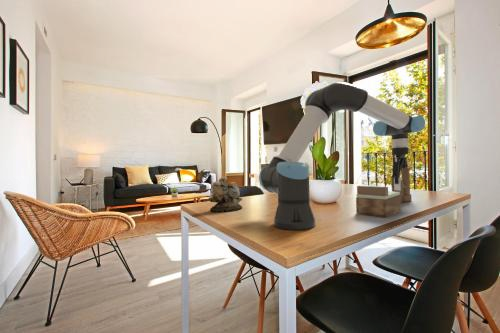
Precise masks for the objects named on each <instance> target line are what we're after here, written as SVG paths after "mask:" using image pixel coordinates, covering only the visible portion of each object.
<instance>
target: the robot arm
mask: <svg viewBox="0 0 500 333" xmlns="http://www.w3.org/2000/svg"><path fill="white" fill-rule="evenodd" d="M304 104H305V107H304V110H303V111H304V114H303V116H302V118H301V120H300V121H299V123H298V125H297V126H296V127H295V129H294V130H293V132H292V134H291V135H290V137H289V138H288V140H287V142H286V143H285V145H284V146H283V148H282V150H281V151H280V153H279V155H276V156H275V155H274V156H273V157H272V159H271V160H270V161H269V164H267V165H265V166H264V167H262V168H261V170H260V171H259V173H258V174H259V175H258V181H259V184H260V186H261V188H262V189H264V190H265V191H266V192H268V193H272V194H277V207H276V212H275V215H274V218H273V226H274V227H276V228H278V229H283V230H288V231H289V230H291V231H301V230H308V229H312V228H314V227H315V226H316V218H315V216H314V212H313V209H312V206H311V204H310V203H311V201H310V199H311V198H310V195H311V194H310V170H309V165H308V164H306V163H305V162H300V160H301V158H302V157H303V155H304V153H305V152H306V150H307V149H308V147H309V146H310V143H311V142H312V140H313V139H314V136H316V134H317V132H318V130H319V128H320V127H321V125H322V124H324V123H327V122H328V121H329V119H330V117H331V116H332V114H333V113H335V112H339V111H345V110H346V111H351V112H352V113H353V112H354V113H356V112H359V113H361V114H363V115H366V116H368V117H371V118H372V119H375V120H376V122H375V123H373V126H372V131H373V134H374V135H375V136H378V137H386V136H387V137H391V155H392V156H395V157H393V158H392V160H393V161H392V162H393V163H392V174H391V176H392V178H394V190H399V191H400V190H401V186H400V180H401V181H402V175H401V174H402V168H406V167H409V166H408V157H407V156H405V155H409V154H410V153H409V152H410V151H409V143H410V140H409V134H411V133H412V134H414V133H419V132H422V131H423V130H424V129H425V127H426V119H425V117H424V116H423V115H421V114H414V115H410V114H409V113H406V112H404V111H402V110H400V109H398V108H396V107H394V106H392V105H390V104H388V103H387V102H384V101H382V100H380V99H378V98H377V97H374V96H372V95H370V94H369V92H368V91H367V90H366V89H364V88H362V87H359V86H357V85H355V84H352V83H348V82H341V81H340V82H334V83H331V84H329V85H326V86H324V87H322V88H320V89H317V90H314V91H313V92H311V93H310V94H309V95H308V96H307V98H306V100H305V103H304ZM400 175H401V176H400Z"/></svg>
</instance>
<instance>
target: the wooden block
mask: <svg viewBox="0 0 500 333" xmlns="http://www.w3.org/2000/svg"><path fill="white" fill-rule="evenodd" d="M401 176H402V181H401V179H400V186H401V190H400V191H399V190H394V178H392V175H391V177H390V178H391V191H393V192H400V203H401V204H402V203H407V202H412V193H411V185H410V182H411V180H410V176H411V175H410V167H409V166H408V167H406V168H402V173H401Z"/></svg>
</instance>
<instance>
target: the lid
mask: <svg viewBox="0 0 500 333" xmlns="http://www.w3.org/2000/svg"><path fill="white" fill-rule="evenodd" d="M397 195H400V192H393V191H392V190H390V191H389V187H388V186H379V185H378V186H376V185H375V186H374V185H373V186H372V185H357V186H356V196H355V198H357V197H360V198H372V199H385V200H386V199H388V198H391V197H394V196H397Z"/></svg>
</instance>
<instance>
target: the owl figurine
mask: <svg viewBox="0 0 500 333" xmlns="http://www.w3.org/2000/svg"><path fill="white" fill-rule="evenodd" d="M211 188H212V190H211V196H210V197H208V200H209V202H210V203H215V204H214V205H213V206H211V208H210V209H209V212H212V213H217V214H218V213H219V214H221V213H232V212H237V211H239V210H240V211H241V210H242V209H243V206H242V205H241V204H240V202H241V201H243V197H240V193H241V192H240V188H239V187H238V184H237V182H236V181H231V182H230V183H229V184H228V178H227V177H226V176H221V177H219V179H218V180H216V181H213V183H212V185H211Z"/></svg>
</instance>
